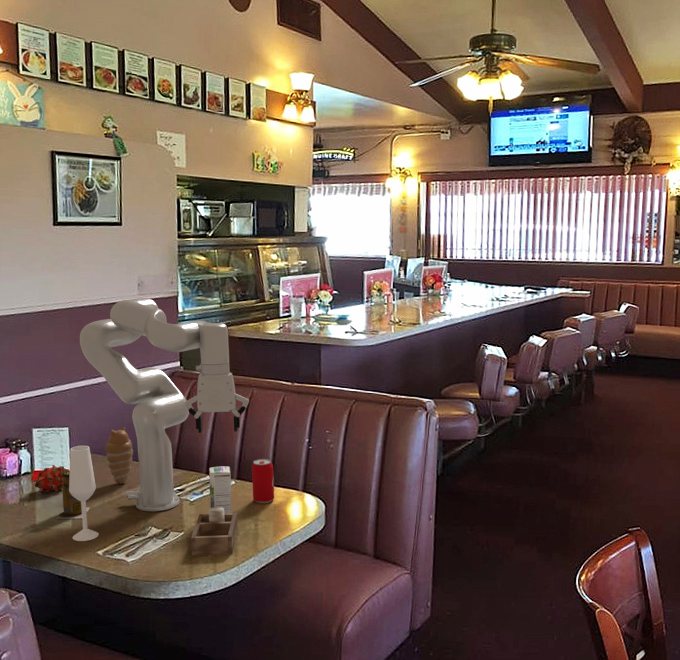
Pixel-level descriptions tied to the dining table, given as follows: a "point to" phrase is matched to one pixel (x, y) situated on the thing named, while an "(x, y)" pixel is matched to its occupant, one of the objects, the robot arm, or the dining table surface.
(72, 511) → the condiment
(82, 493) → the champagne flute
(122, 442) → the cat ice cream
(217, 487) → the syrup box
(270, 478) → the beverage can
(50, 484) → the dragon fruit
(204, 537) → the caddy
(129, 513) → the dining table surface
